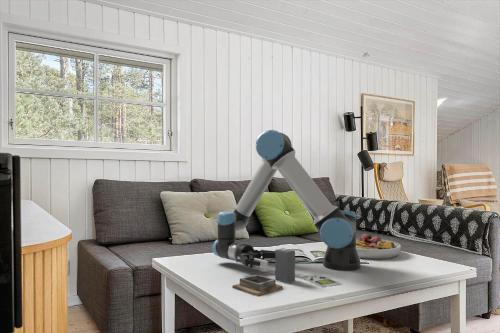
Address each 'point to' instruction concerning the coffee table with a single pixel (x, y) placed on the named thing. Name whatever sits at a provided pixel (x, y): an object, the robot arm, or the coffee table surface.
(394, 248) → the bowl
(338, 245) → the robot arm
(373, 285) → the coffee table surface
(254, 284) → the tray
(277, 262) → the block
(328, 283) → the handheld gaming device
